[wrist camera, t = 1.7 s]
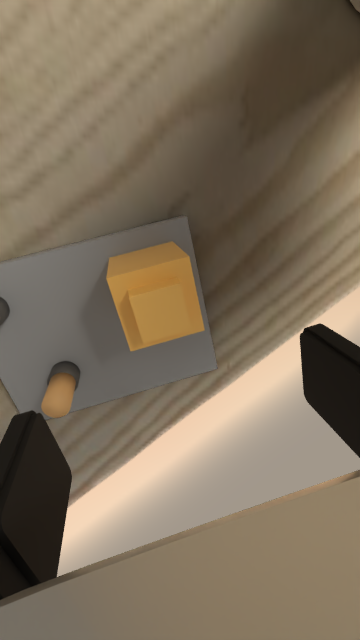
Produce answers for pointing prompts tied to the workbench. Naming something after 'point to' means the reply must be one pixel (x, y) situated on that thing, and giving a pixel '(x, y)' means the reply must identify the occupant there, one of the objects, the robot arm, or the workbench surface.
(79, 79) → the workbench surface
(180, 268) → the stepped orange block
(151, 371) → the board
